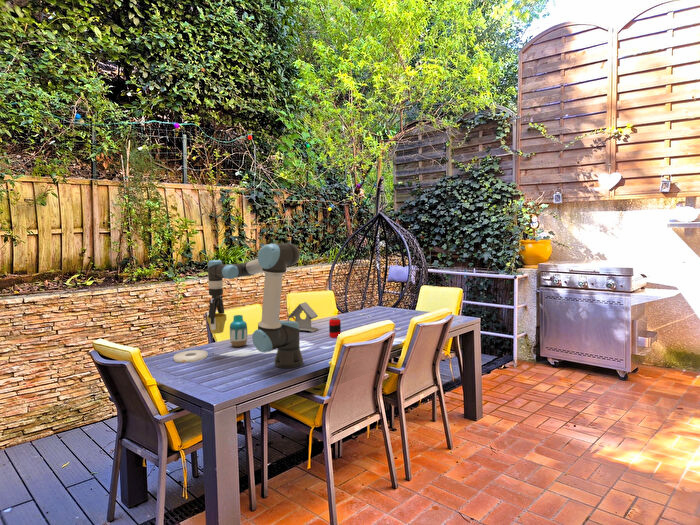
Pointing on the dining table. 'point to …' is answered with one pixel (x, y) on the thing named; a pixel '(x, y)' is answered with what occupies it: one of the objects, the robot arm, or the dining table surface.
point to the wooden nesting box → (305, 323)
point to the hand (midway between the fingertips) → (216, 327)
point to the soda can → (334, 327)
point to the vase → (238, 331)
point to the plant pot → (218, 322)
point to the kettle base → (190, 356)
